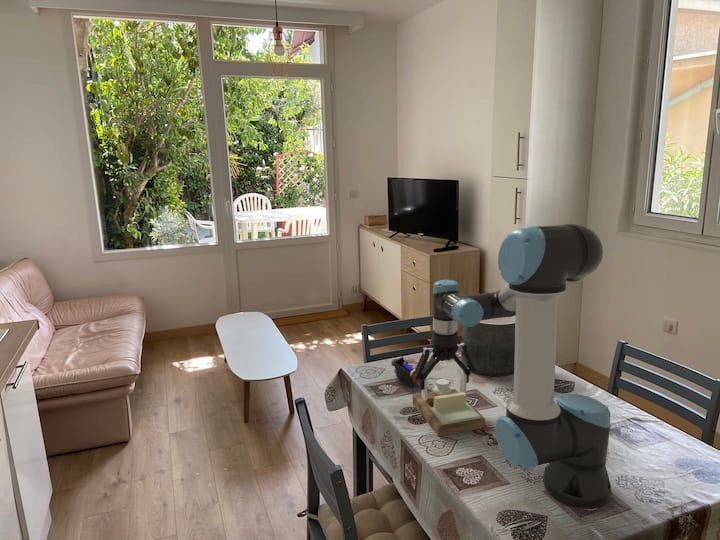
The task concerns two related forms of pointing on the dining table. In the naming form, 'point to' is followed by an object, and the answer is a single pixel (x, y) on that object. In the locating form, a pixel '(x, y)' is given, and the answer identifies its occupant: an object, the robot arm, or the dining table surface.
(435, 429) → the board
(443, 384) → the supplement bottle
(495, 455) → the dining table surface
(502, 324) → the planter
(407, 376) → the character figurine
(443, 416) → the cover
